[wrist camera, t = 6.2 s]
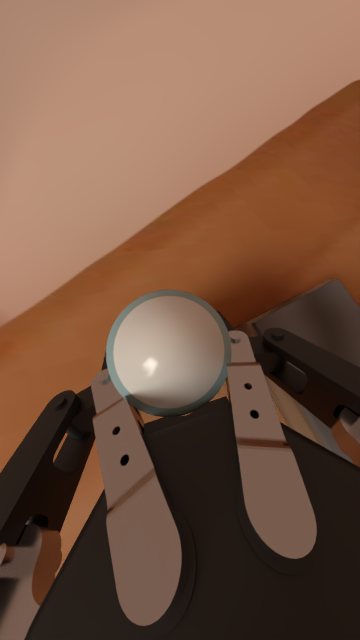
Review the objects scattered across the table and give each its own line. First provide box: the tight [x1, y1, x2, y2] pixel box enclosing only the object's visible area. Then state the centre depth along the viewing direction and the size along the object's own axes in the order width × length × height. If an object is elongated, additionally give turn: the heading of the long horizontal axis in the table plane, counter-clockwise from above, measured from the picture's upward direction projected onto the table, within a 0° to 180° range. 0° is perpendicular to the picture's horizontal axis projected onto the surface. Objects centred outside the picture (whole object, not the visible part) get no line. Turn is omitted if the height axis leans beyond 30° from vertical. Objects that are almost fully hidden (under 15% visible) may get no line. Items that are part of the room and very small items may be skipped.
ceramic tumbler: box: [106, 290, 232, 417], centre depth 12 cm, size 5×5×10 cm
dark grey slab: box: [234, 278, 360, 463], centre depth 14 cm, size 9×13×4 cm
